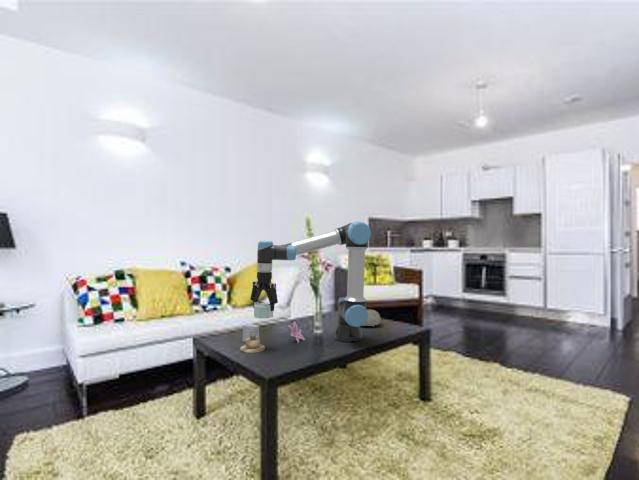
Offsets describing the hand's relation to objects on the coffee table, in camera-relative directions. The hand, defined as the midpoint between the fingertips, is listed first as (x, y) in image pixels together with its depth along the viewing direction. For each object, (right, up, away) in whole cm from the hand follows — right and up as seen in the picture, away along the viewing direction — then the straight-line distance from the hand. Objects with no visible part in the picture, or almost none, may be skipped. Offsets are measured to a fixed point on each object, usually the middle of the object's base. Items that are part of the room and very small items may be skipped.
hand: (263, 316), depth 186 cm
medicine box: (-9, -17, +14) cm, 23 cm away
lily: (+15, -17, +15) cm, 27 cm away
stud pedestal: (-5, -17, -1) cm, 17 cm away
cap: (0, 0, 0) cm, 0 cm away
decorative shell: (+59, -17, +53) cm, 81 cm away
